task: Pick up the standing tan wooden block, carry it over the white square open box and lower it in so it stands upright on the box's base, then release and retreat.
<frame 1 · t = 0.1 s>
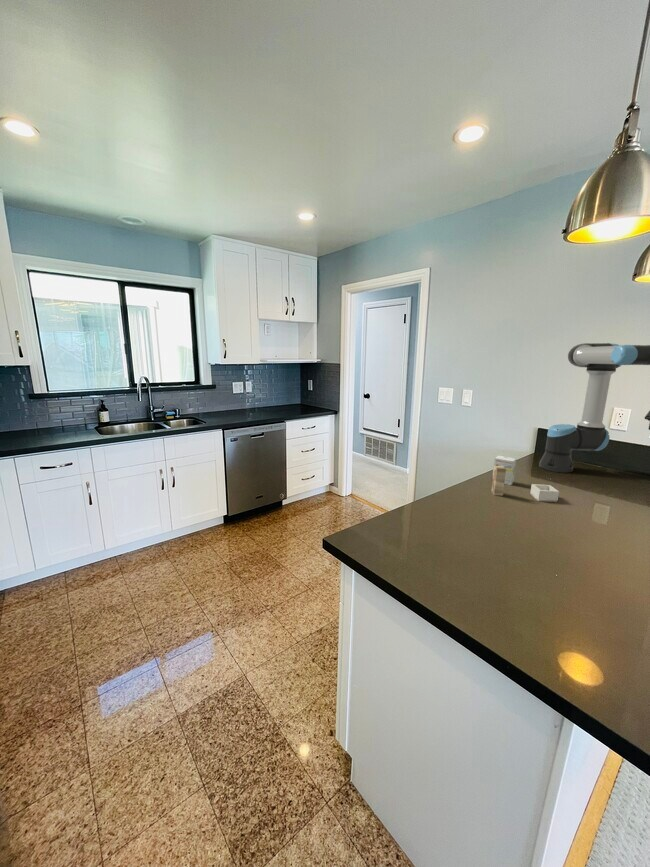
white square open box: (543, 497, 147), on the table
ink box: (502, 482, 166), on the table
tan wooden block: (496, 493, 151), on the table
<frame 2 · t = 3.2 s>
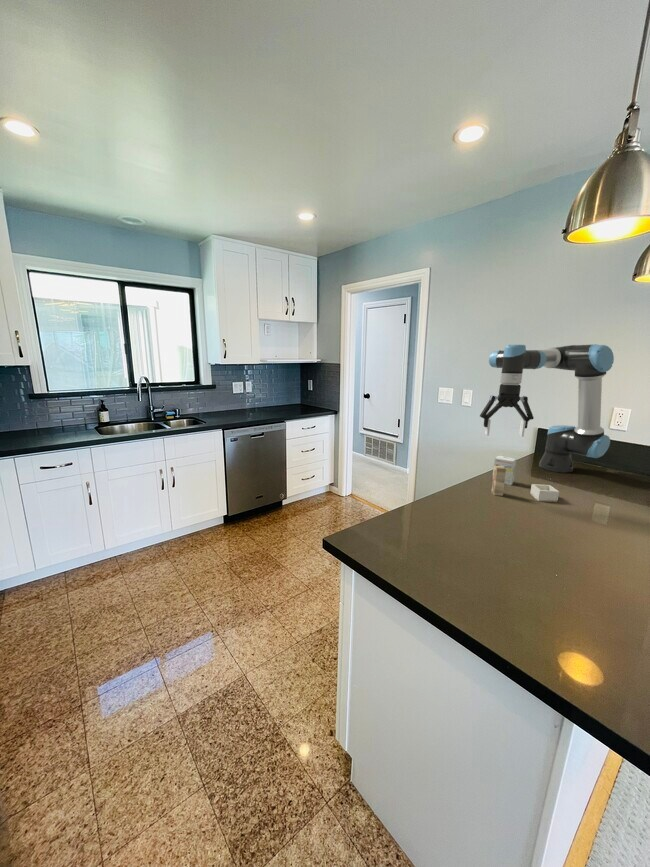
hand: (503, 435, 146), 26 cm above the table, fingers open, 13 cm apart
nothing on the table moved.
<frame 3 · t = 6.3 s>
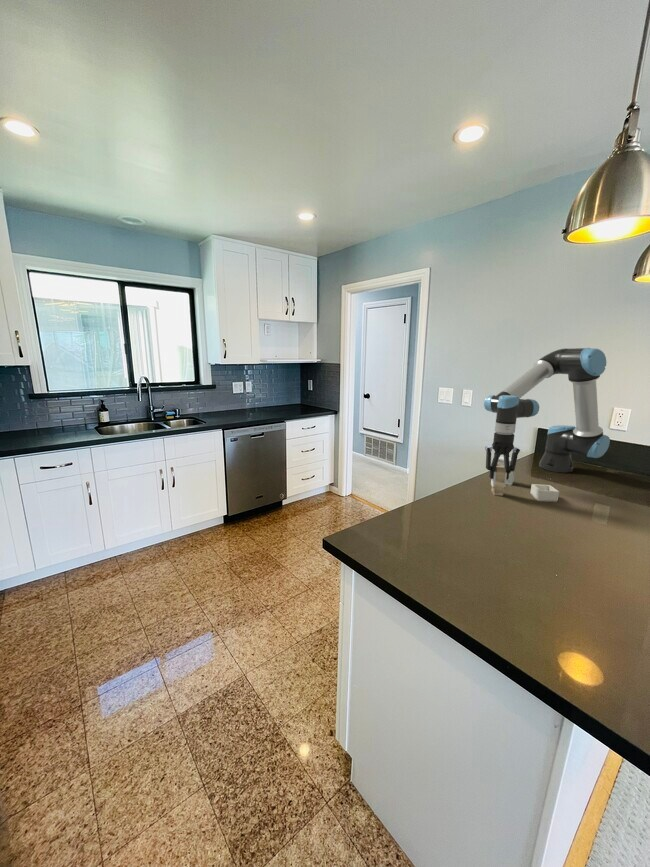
hand: (497, 485, 150), 4 cm above the table, fingers closed on tan wooden block, 3 cm apart
tan wooden block: (496, 493, 151), on the table, touching gripper
everything else where it was.
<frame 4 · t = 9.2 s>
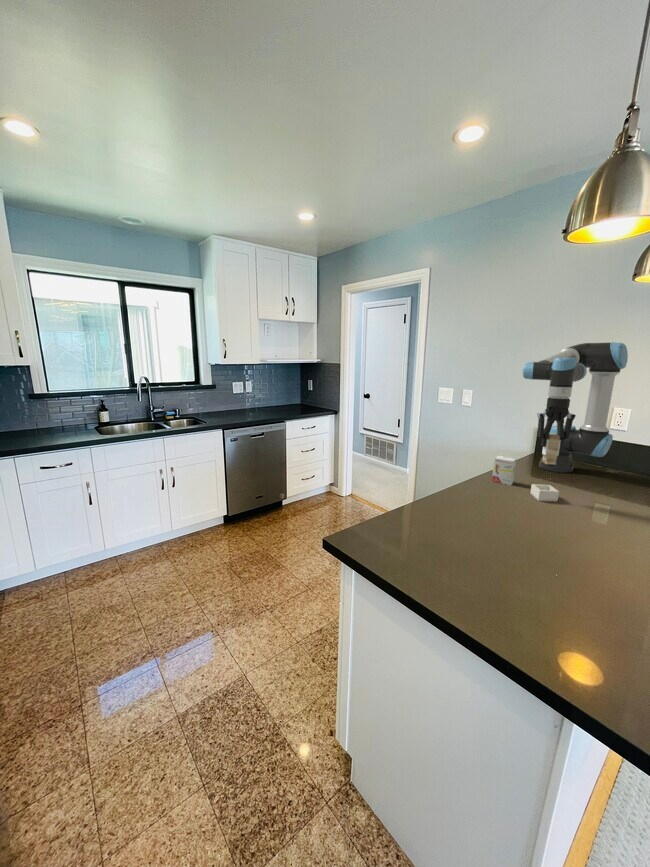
hand: (550, 454, 143), 19 cm above the table, fingers closed on tan wooden block, 3 cm apart
tan wooden block: (548, 463, 144), point 15 cm above the table, touching gripper
everything else where it was.
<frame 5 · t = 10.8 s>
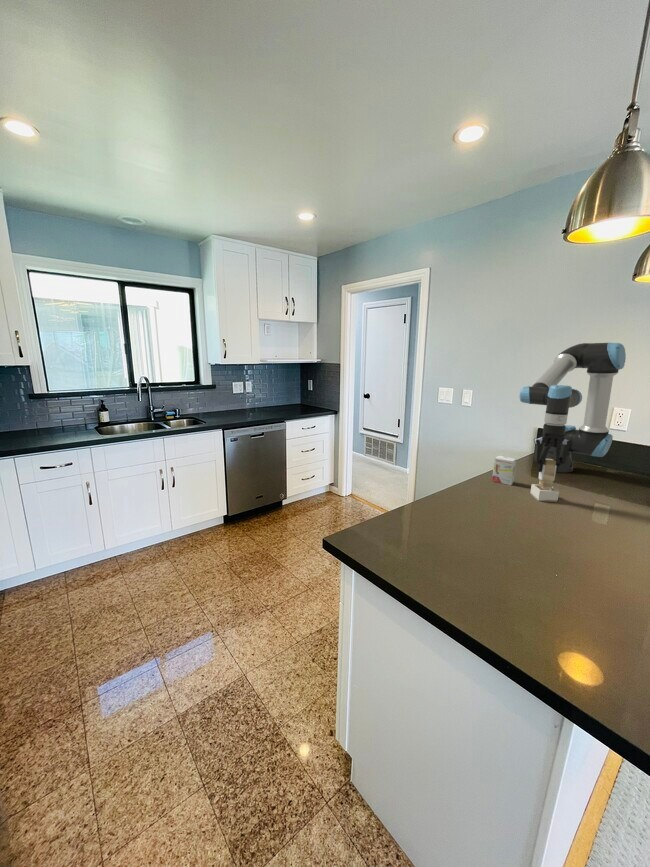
hand: (546, 479, 145), 8 cm above the table, fingers closed on tan wooden block, 3 cm apart
tan wooden block: (545, 487, 146), point 5 cm above the table, touching gripper
everything else where it was.
when the fingers open (6 cm above the table, at t = 12.0 s): tan wooden block drops 2 cm, resting on white square open box.
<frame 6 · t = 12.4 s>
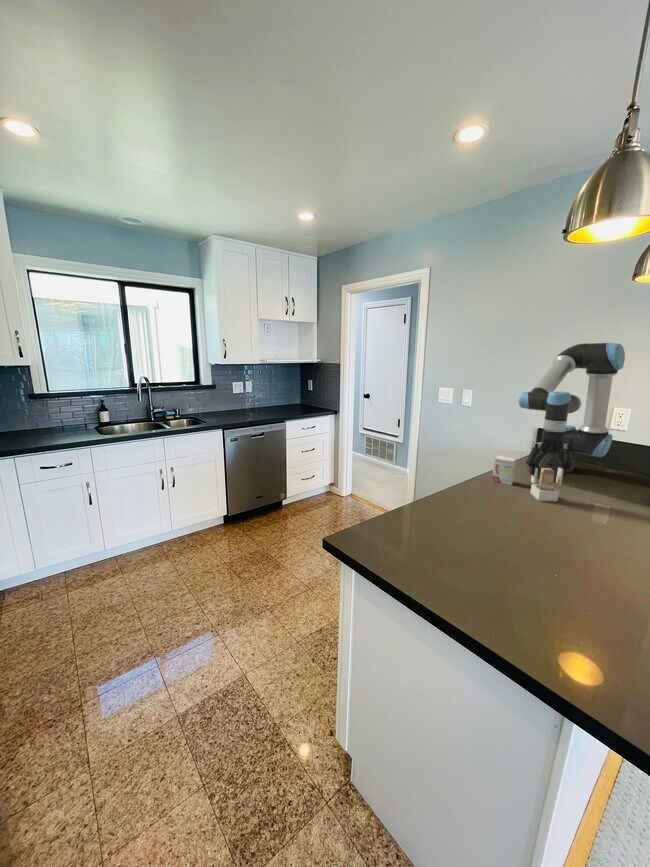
hand: (545, 482, 146), 7 cm above the table, fingers open, 9 cm apart
tan wooden block: (543, 496, 147), point 1 cm above the table, touching white square open box
everything else where it was.
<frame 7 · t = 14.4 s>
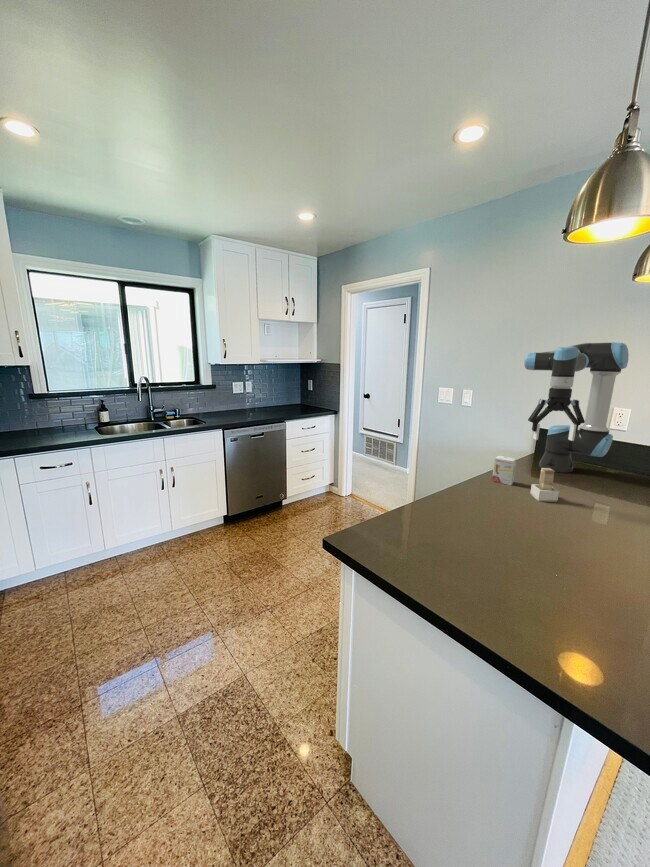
hand: (553, 439, 143), 25 cm above the table, fingers open, 13 cm apart
nothing on the table moved.
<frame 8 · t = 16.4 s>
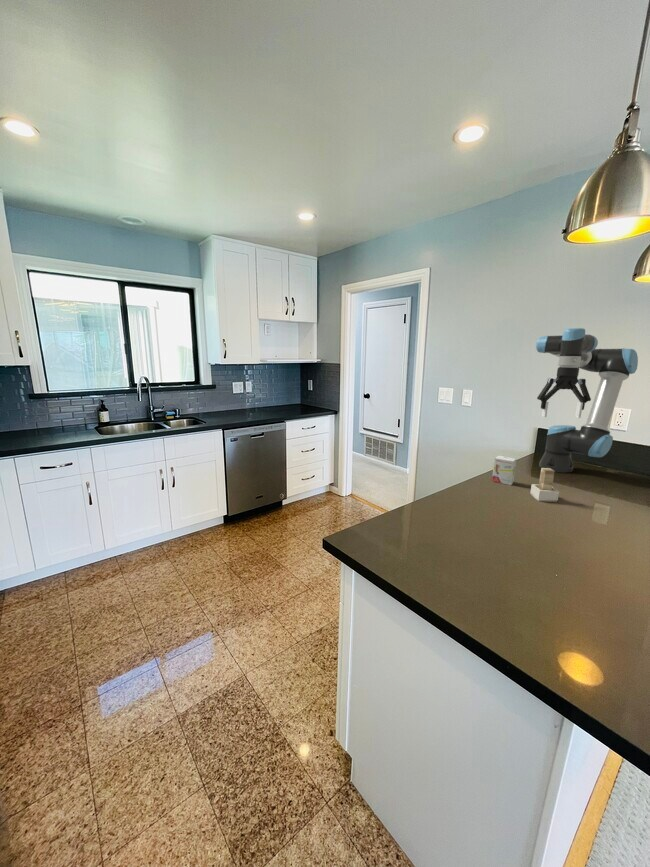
hand: (560, 417, 151), 33 cm above the table, fingers open, 13 cm apart
nothing on the table moved.
at the end: tan wooden block 0.0 cm off-centre on the white square open box, point 0.6 cm above the white square open box's base; tan wooden block tilted 0°; the gripper is holding nothing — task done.
